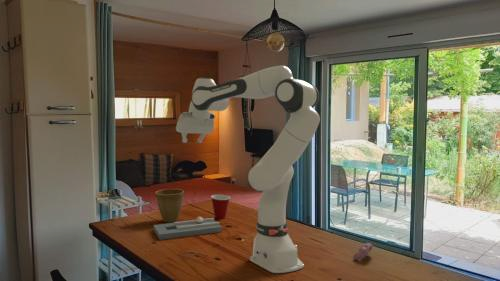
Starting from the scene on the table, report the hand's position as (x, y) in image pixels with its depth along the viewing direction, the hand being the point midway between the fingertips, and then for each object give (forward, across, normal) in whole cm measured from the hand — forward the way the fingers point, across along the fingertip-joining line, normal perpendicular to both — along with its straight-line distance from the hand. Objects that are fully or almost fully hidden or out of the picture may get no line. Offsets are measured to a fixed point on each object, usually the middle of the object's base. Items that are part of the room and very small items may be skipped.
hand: (192, 142), depth 172 cm
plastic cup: (+44, +35, +1) cm, 57 cm away
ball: (+40, +12, -4) cm, 42 cm away
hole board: (+45, +7, -2) cm, 45 cm away
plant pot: (+50, +14, +18) cm, 54 cm away
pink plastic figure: (+24, +27, -80) cm, 88 cm away
